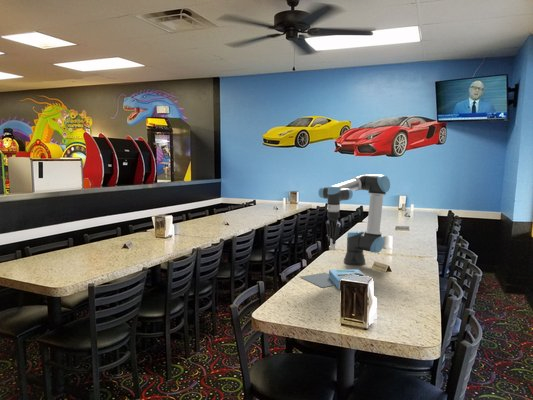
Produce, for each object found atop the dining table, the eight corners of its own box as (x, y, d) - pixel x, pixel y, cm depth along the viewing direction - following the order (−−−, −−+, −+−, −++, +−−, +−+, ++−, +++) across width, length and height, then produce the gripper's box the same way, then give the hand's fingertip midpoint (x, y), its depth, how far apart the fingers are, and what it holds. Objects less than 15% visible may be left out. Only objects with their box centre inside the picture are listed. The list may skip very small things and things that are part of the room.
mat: (324, 273, 251) (324, 272, 251) (348, 283, 231) (348, 282, 231) (299, 277, 241) (299, 276, 241) (322, 288, 221) (322, 287, 221)
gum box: (328, 276, 239) (339, 290, 217) (329, 268, 239) (339, 282, 216) (358, 276, 242) (372, 290, 219) (359, 268, 241) (372, 282, 218)
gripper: (322, 210, 238) (321, 247, 241) (335, 212, 227) (334, 251, 230) (331, 209, 242) (330, 245, 244) (345, 212, 231) (344, 250, 233)
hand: (332, 248), depth 237 cm, fingers closed
